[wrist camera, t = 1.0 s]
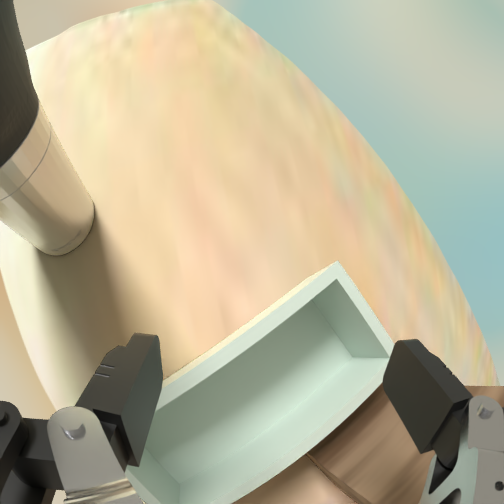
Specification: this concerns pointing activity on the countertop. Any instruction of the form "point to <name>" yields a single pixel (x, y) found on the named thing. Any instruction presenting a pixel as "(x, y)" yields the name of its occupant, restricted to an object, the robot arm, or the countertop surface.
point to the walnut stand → (379, 452)
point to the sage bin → (263, 395)
